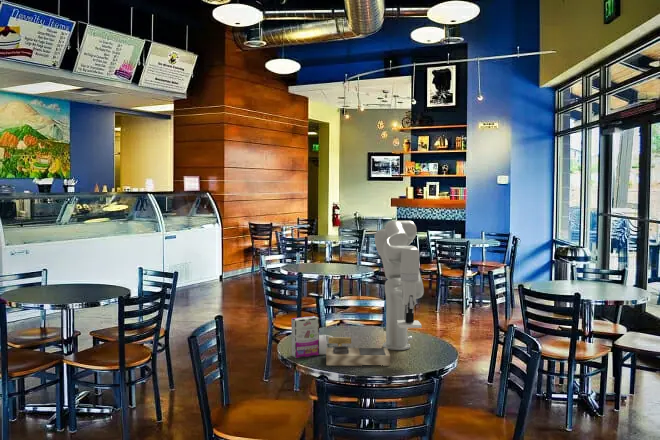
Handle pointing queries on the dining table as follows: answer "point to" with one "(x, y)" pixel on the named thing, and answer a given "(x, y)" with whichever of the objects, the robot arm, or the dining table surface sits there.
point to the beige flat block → (357, 356)
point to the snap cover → (408, 325)
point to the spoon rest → (323, 343)
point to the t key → (340, 340)
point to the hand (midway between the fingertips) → (409, 321)
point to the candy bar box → (305, 337)
